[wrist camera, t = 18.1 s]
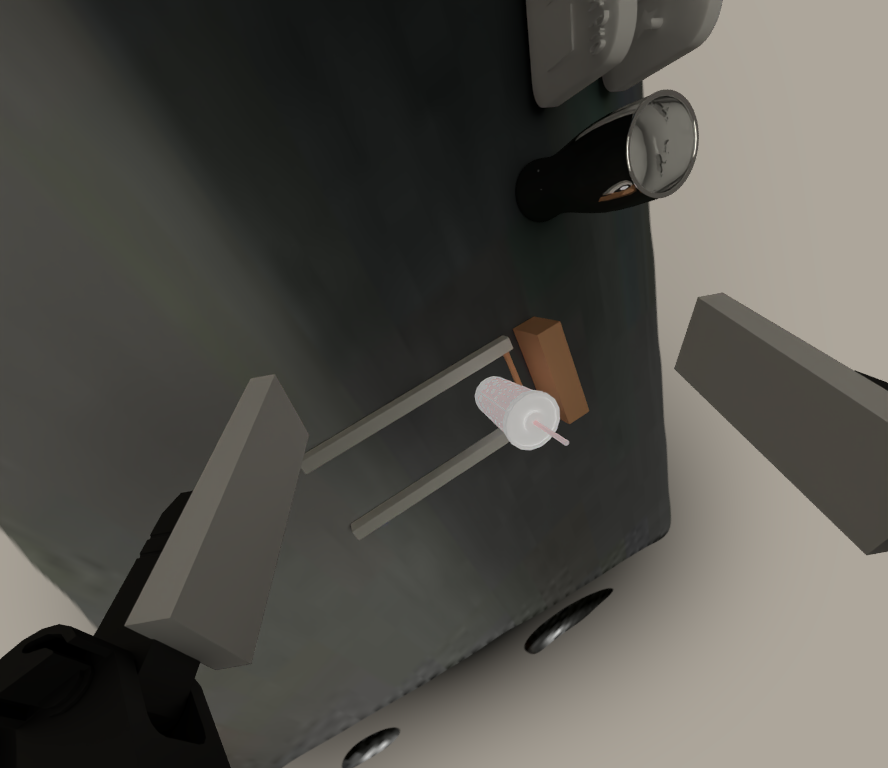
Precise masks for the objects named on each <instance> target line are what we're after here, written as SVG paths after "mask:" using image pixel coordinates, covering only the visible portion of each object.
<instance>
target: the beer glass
mask: <svg viewBox="0 0 888 768" xmlns="http://www.w3.org/2000/svg"><path fill="white" fill-rule="evenodd" d="M698 134H699V133H698V124H697V119H696V116H695V113H694V110H693V108H692V106H691V105H690V103H689V102H688V100H687V99H686V98H685V97H684V96H683V95H681V94H680V93H678V92H676V91H673V90H660V91H658V92H655V93H653V94H651V95H650V96H647V97H645V98H643V99H640V100H638V101H635V102H633V103H630V104H628V105H626V106H624V107H621V108H619V109H617V110H615V111H613V112H611V113H609V114H607V115H606V116H604V117H602V118H601V119H599V120H597V121H596V122H594V123H592V124H591V125H590V126H588V127H587V128H586V129H584V130H583V131H582V132H580V133H579V134H578V135H577V136H576V137H574V138H573V139H572V140H571V141H570V142H569V143H568V144H566V145H565V146H564V147H563V148H562V149H561V150H560V151H558V152H557V153H556V154H554V155H553V156H550V157H545V158H539V159H536V160H533V161H531V162H530V163H528V164H527V165H526V166H525V167H524V168H523V169H522V171H521V172H520V174H519V177H518V179H517V183H516V200H517V204H518V206H519V209H520V210H521V212H522V213H523V215H524V216H525V217H526V218H528V219H529V220H531V221H534V222H546V221H549V220H551V219H553V218H555V217H556V216H558V215H560V214H562V213H606V212H612V211H618V210H622V209H626V208H630V207H634V206H637V205H640V204H643V203H646V202H649V201H652V200H655V199H658V198H663V197H666V196H669V195H671V194H673V193H674V192H675V191H677V190H678V189H679V188H680V187H681V186H682V185H683V183H684V182H685V181H686V179H687V178H688V176H689V174H690V172H691V170H692V168H693V165H694V162H695V159H696V155H697V150H698V139H699V135H698Z"/></svg>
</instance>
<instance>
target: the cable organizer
mask: <svg viewBox="0 0 888 768" xmlns="http://www.w3.org/2000/svg"><path fill="white" fill-rule="evenodd" d="M722 1H723V0H526V10H527V23H528V37H529V50H530V63H531V76H532V88H533V94H534V98H535V100H536V103H537V104H538V106H540V107H541V108H547V107H557V106H559V105H561V104H562V103H564V102H565V101H566V100H568V99H569V98H571V97H572V96H574V95H575V94H577V93H578V92H580V91H581V90H582V89H584V88H585V87H587V86H588V85H590V84H591V83H593V82H594V81H595V80H597V79H598V78H600V77H601V76H602V79H603V83H604V86H605V88H606V89H607V90H608V91H610V92H617V91H625V90H627V89H628V88H630V87H632V86H633V85H635V84H637V83H638V82H640V81H642V80H644V79H645V78H647V77H648V76H650V75H652V74H654V73H655V72H657V71H659V70H660V69H662V68H664V67H665V66H667V65H669V64H670V63H672V62H674V61H676V60H677V59H679V58H680V57H682V56H684V55H686V54H687V53H689V52H691V51H692V50H694V49H696V48H697V47H699V46H700V45H701V44H702V43H703V42H704V41H705V40H706V39H707V38H708V37H709V35H710V33H711V32H712V30H713V28H714V26H715V24H716V22H717V19H718V17H719V14H720V10H721V6H722Z"/></svg>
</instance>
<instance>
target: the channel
mask: <svg viewBox="0 0 888 768" xmlns="http://www.w3.org/2000/svg"><path fill="white" fill-rule="evenodd" d="M513 331H514V334H515V336H516V339H517V341H518V344H519V346H520V349H521V351H522V354H523V357H524V359H525V362H526V364H527V367H528V369H529V372H530V375H531V377H532V380H533V382H534V385H535V387H536V390H537V391H543V392H545V393H547V394H549V395H550V396H551V397H553V398H554V399H555V400H556V402H557V404H558V406H559V410H560V419H561V420H563V421H564V422H566V423H568V424H571V423H572V422H574V421H575V420H577V419H578V418H580V417H581V416H583V415H584V414H586V413H587V412H589V408H588V405H587V402H586V399H585V396H584V393H583V390H582V387H581V384H580V381H579V378H578V375H577V372H576V369H575V366H574V363H573V360H572V357H571V353H570V350H569V347H568V344H567V341H566V338H565V335H564V332H563V329H562V326H561V323H560V321H555V320H549V319H544V318H538V317H532V318H530V319H529V320H527V321H525V322H524V323H522V324H520V325H519V326H517V327H515V328H514V329H513ZM512 349H513V347H512V344H511V342H510V339H509V337H506V336H503V335H502V336H500V337H499V338H497V339H495V340H494V341H492V342H490V343H489V344H487V345H485V346H483V347H482V348H480V349H478V350H477V351H475V352H473V353H472V354H470V355H468V356H467V357H465V358H463V359H462V360H460V361H458V362H457V363H455V364H453V365H452V366H450V367H448V368H447V369H445V370H443V371H442V372H440V373H438V374H437V375H435V376H433V377H432V378H430V379H428V380H427V381H425V382H423V383H422V384H420V385H418V386H417V387H415V388H413V389H412V390H410V391H408V392H407V393H405V394H403V395H402V396H400V397H398V398H397V399H395V400H393V401H392V402H390V403H388V404H386V405H385V406H383V407H381V408H380V409H378V410H376V411H375V412H373V413H371V414H370V415H368V416H366V417H365V418H363V419H361V420H360V421H358V422H356V423H355V424H353V425H351V426H350V427H348V428H346V429H345V430H343V431H341V432H340V433H338V434H336V435H335V436H333V437H331V438H330V439H328V440H326V441H325V442H323V443H321V444H320V445H318V446H316V447H315V448H313V449H311V450H310V451H308V452H306V453H305V454H304V457H303V461H302V465H301V469H302V470H303V471H304V473H305V474H306V475H307V474H308V473H310V472H312V471H313V470H315V469H316V468H318V467H320V466H321V465H323V464H325V463H326V462H328V461H330V460H331V459H333V458H335V457H336V456H338V455H339V454H341V453H343V452H344V451H346V450H348V449H349V448H351V447H353V446H354V445H356V444H358V443H359V442H361V441H362V440H364V439H366V438H367V437H369V436H371V435H372V434H374V433H376V432H377V431H379V430H381V429H382V428H384V427H385V426H387V425H389V424H390V423H392V422H394V421H395V420H397V419H399V418H400V417H402V416H404V415H405V414H407V413H408V412H410V411H412V410H413V409H415V408H417V407H418V406H420V405H422V404H423V403H425V402H427V401H428V400H430V399H431V398H433V397H435V396H436V395H438V394H440V393H441V392H443V391H445V390H446V389H448V388H450V387H451V386H453V385H454V384H456V383H458V382H459V381H461V380H463V379H464V378H466V377H468V376H469V375H471V374H473V373H474V372H476V371H477V370H479V369H481V368H482V367H484V366H486V365H487V364H489V363H491V362H492V361H494V360H496V359H497V358H499V357H500V356H502V355H504V358H505V360H506V363H507V365H508V367H509V370H510V372H511V375H512V377H513V379H514V382H515V383H516V384H519V385H521V386H522V383H521V381H520V379H519V376H518V374H517V371H516V369H515V366H514V364H513V361H512V359H511V356H510V354H509V351H510V350H512ZM508 442H510V441H509V440H508V439H507V437H506V435H505V434H504V432H503V431H502V430H501V429H500V428H498V429H496V430H495V431H493V432H492V433H490V434H489V435H487V436H486V437H484V438H483V439H481V440H479V441H478V442H476V443H475V444H473V445H472V446H470V447H469V448H467V449H466V450H464V451H462V452H461V453H459V454H458V455H456V456H455V457H453V458H452V459H450V460H449V461H447V462H445V463H444V464H442V465H441V466H439V467H438V468H436V469H435V470H433V471H432V472H430V473H428V474H427V475H425V476H424V477H422V478H421V479H419V480H418V481H416V482H415V483H413V484H411V485H410V486H408V487H407V488H405V489H404V490H402V491H401V492H399V493H398V494H396V495H394V496H393V497H391V498H390V499H388V500H387V501H385V502H384V503H382V504H381V505H379V506H377V507H376V508H374V509H373V510H371V511H370V512H368V513H367V514H365V515H364V516H362V517H360V518H359V519H357V520H356V521H354V522H353V523H351V529H352V533H353V534H354V535H355V536H356V538H357V539H358V540H361V539H362V538H364V537H365V536H367V535H368V534H370V533H371V532H373V531H374V530H376V529H377V528H379V527H380V526H382V525H383V524H385V523H387V522H388V521H390V520H391V519H393V518H394V517H396V516H397V515H399V514H400V513H402V512H403V511H405V510H406V509H408V508H409V507H411V506H412V505H414V504H415V503H417V502H418V501H420V500H421V499H423V498H425V497H426V496H428V495H429V494H431V493H432V492H434V491H435V490H437V489H438V488H440V487H441V486H443V485H444V484H446V483H447V482H449V481H450V480H452V479H453V478H455V477H456V476H458V475H459V474H461V473H462V472H464V471H466V470H467V469H469V468H470V467H472V466H473V465H475V464H476V463H478V462H479V461H481V460H482V459H484V458H485V457H487V456H488V455H490V454H491V453H493V452H494V451H496V450H497V449H499V448H500V447H502V446H504V445H505V444H507V443H508Z"/></svg>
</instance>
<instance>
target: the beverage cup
mask: <svg viewBox="0 0 888 768" xmlns="http://www.w3.org/2000/svg"><path fill="white" fill-rule="evenodd" d="M475 400H476V404H477V406H478V407H479V409H480V410H481V411H482V412H483V413H484V414H485V415H486V416H487V417H488V418H489V419H491V420H492V421H493V422H494V423H495V424H496V425H497V426H498V427H499V428H500V429H501V430H502V431H503V432H504V434H505V435H506V437H507V439H508V440H509V441H510V442H511V444H513V445H514V446H516V447H518V448H519V449H522V450H532V449H535V448H538V447H541V446H542V445H544V444H545V443H546V442H547V441H549V440H550V439H551V437H553V438H555V439H556V440H558V441H559V442H561V443H562V444H564V445H565V446H567V445H568V444H569V441H568V440H566V439H565V438H563V437H561V436H560V435H558V434H557V433H555V431H556V430H557V427H558V424H559V420H560V410H559V406H558V404H557V402H556V400H555V399H554V398H553V397H551V396H550V395H549V394H547V393H545V392H543V391H537V390H531V389H529V388H526V387H524V386H521V385H519V384H516V383H514V382H511V381H508V380H506V379H503V378H501V377H496V376H493V377H489V378H486V379H485V380H484V381H482V382H481V383H480V385H479V386H478V388H477V390H476V394H475Z"/></svg>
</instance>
